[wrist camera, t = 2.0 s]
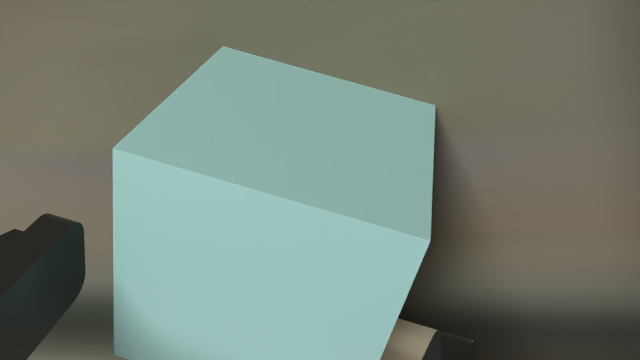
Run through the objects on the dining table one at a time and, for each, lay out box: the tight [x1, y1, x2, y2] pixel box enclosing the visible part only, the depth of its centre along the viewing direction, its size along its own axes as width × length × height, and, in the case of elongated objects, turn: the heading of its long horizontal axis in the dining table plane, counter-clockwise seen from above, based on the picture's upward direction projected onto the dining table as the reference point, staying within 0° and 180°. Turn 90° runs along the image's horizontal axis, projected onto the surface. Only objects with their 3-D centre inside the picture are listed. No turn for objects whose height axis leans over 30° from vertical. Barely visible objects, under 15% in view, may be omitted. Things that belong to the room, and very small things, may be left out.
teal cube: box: [113, 46, 436, 360], centre depth 14 cm, size 6×6×6 cm
